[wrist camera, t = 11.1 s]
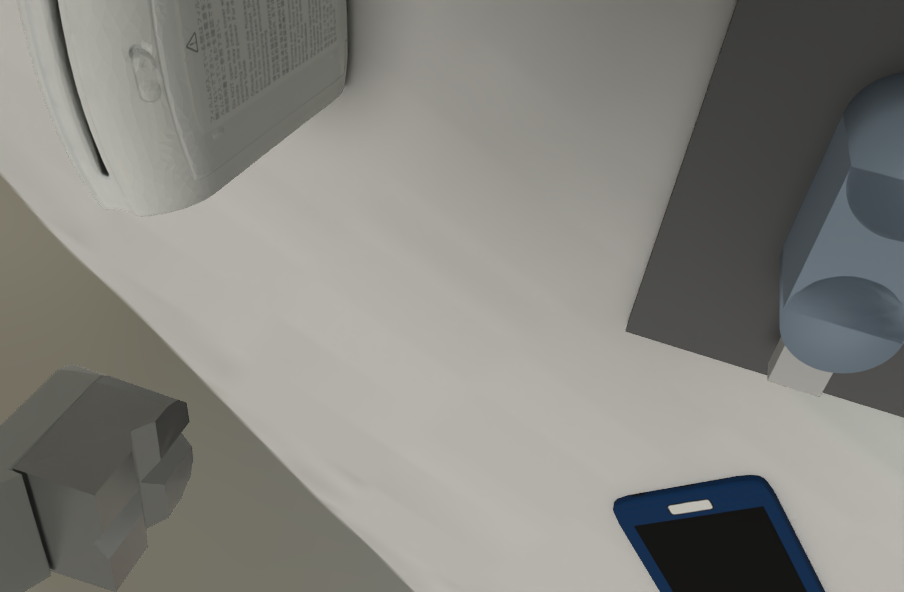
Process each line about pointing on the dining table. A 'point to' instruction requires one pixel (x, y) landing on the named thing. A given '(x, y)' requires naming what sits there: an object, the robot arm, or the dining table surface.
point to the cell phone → (717, 538)
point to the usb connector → (847, 250)
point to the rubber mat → (763, 181)
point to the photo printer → (180, 88)
